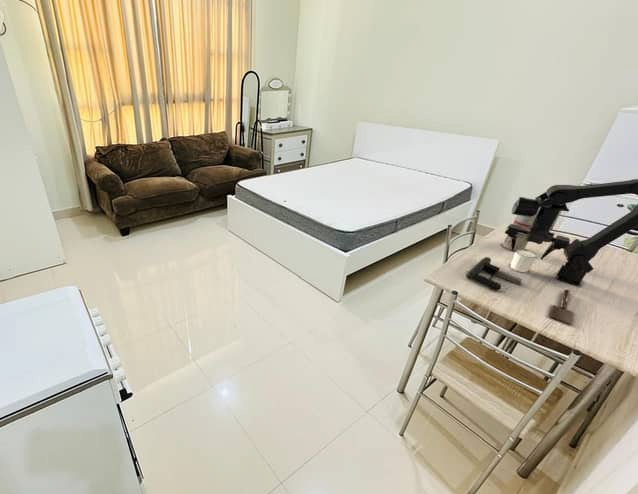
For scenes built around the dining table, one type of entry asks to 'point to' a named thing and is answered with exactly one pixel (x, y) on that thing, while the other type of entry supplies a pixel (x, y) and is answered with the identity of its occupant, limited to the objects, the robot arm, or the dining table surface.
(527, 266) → the white cup
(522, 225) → the spray can
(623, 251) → the dining table surface
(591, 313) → the dining table surface
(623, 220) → the robot arm
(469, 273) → the door handle
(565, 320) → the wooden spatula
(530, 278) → the dining table surface
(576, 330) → the dining table surface
